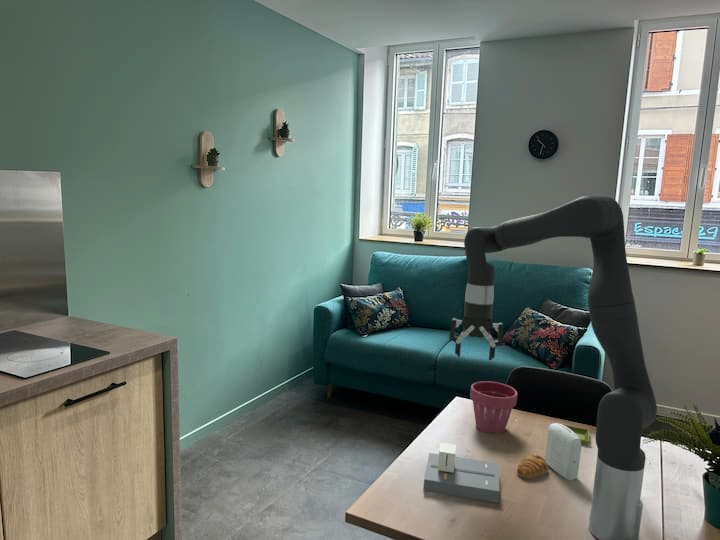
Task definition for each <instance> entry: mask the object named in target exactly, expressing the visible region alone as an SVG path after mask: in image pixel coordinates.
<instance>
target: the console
mask: <svg viewBox="0 0 720 540" xmlns="http://www.w3.org/2000/svg"><path fill="white" fill-rule="evenodd" d="M438 462H439V453H434V452H429V453H428V458H427V463H426V467H425V468H426V469H425V473H424V478H423V491H425V492H430V493H437V494H442V495H446V496H447V495H448V496H454V497H459V498H460V497H461V498H466V499H467V498H468V499H472V500H478V501H484V502H490V503H491V502H492V503H497V504H500V503H499V501H500V492H501V491H500V490H501V489H500V477H499V462H494V461H487V460H482V459H473V458H467V457H460V456H455V467H454V473H453V472H446V471H440V470H438ZM423 491H422V492H423Z"/></svg>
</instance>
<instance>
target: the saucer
mask: <svg viewBox="0 0 720 540" xmlns="http://www.w3.org/2000/svg"><path fill="white" fill-rule="evenodd" d="M562 425H564V426H566V427H568V428H569V429H571V430H572V431H573V432H574V433H575V434H576V435H577V436H578V437H579V439H580V440H581V445H583V444H584V445H586V444H587V443H589V442H590V429H587V428H583V427H577V426H572V425H567V424H562Z"/></svg>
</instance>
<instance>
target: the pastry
mask: <svg viewBox="0 0 720 540" xmlns="http://www.w3.org/2000/svg"><path fill="white" fill-rule="evenodd" d="M549 470H550V466H549V465H548V464H547V463H546V461H545V457H543V456H541V455H539V454H531V455H528V457H525V458H523V459H522V460H520V461H519V463H518V466H517V470H516V472H517V476H519V477H521V478H523V479H524V478H525V479H527V480H533V479H538V478H540V477H542V476H544V475H545V474H547V473H548V471H549Z"/></svg>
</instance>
